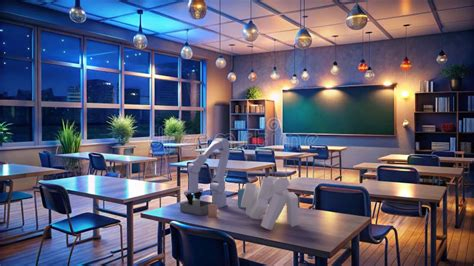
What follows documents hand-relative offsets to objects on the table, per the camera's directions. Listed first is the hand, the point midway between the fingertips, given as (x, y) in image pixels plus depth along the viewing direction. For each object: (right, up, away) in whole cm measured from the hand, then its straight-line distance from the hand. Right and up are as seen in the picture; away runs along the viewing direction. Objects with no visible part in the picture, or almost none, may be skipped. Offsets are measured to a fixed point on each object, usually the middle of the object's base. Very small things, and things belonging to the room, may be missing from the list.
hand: (193, 204), depth 230 cm
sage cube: (0, -2, 0) cm, 2 cm away
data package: (+33, -3, +6) cm, 34 cm away
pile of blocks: (+43, -5, -30) cm, 53 cm away
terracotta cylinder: (+13, -4, -15) cm, 20 cm away
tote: (+3, -4, -2) cm, 5 cm away
